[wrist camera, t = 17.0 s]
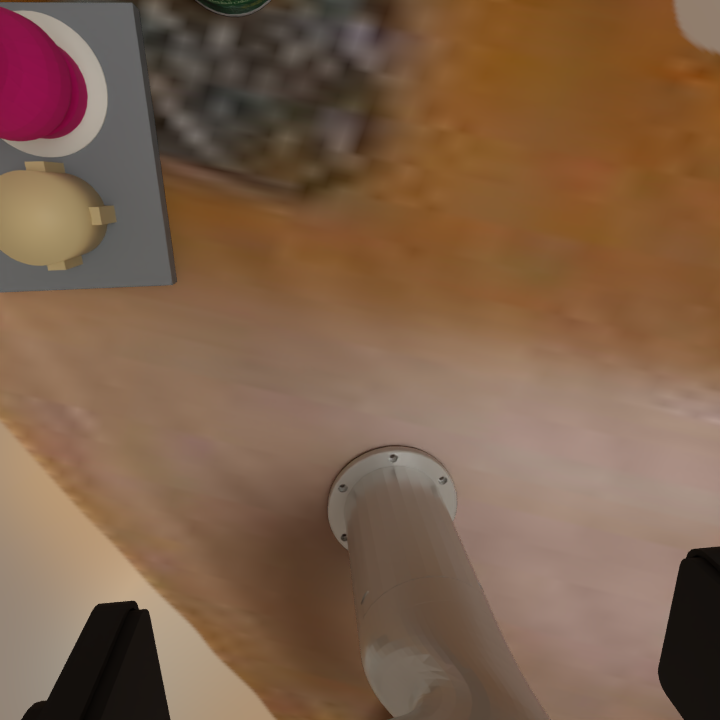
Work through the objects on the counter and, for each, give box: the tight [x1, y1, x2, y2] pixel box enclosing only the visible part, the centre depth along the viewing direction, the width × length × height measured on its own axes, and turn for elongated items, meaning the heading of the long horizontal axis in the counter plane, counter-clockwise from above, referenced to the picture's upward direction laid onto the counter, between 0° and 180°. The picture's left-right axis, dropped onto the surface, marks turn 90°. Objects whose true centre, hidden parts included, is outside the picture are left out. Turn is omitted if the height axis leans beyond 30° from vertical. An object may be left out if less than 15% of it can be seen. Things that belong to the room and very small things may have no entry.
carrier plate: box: [0, 2, 177, 292], centre depth 35 cm, size 19×14×6 cm
